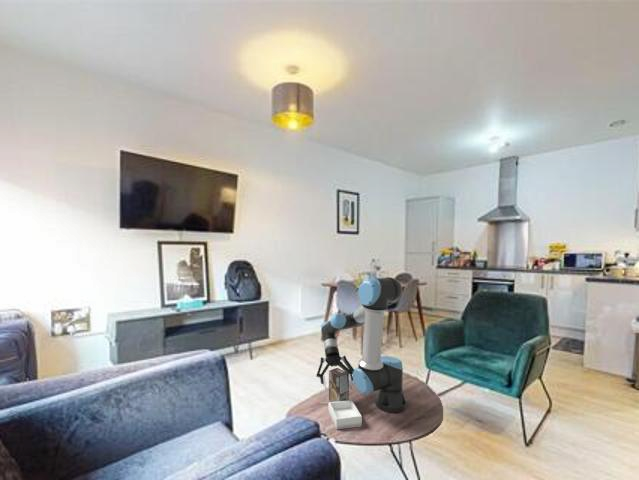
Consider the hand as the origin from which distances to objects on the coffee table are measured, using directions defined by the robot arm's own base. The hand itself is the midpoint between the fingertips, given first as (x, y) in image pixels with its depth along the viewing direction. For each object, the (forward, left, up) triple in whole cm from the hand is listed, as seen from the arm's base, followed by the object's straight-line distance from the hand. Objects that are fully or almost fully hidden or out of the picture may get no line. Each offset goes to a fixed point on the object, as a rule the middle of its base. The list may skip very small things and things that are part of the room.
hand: (338, 389), depth 160 cm
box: (+1, +13, -8) cm, 15 cm away
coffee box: (0, -1, -8) cm, 8 cm away
